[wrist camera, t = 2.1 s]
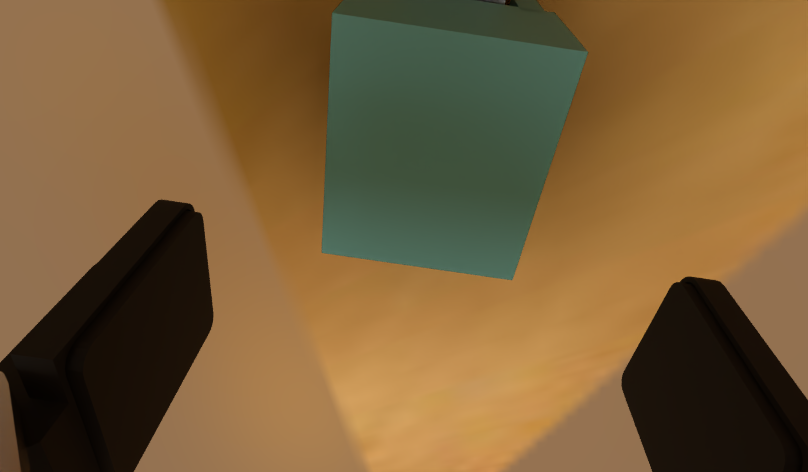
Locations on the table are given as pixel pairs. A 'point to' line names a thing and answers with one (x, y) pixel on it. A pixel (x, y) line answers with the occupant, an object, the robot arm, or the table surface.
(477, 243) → the carriage
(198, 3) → the table surface
